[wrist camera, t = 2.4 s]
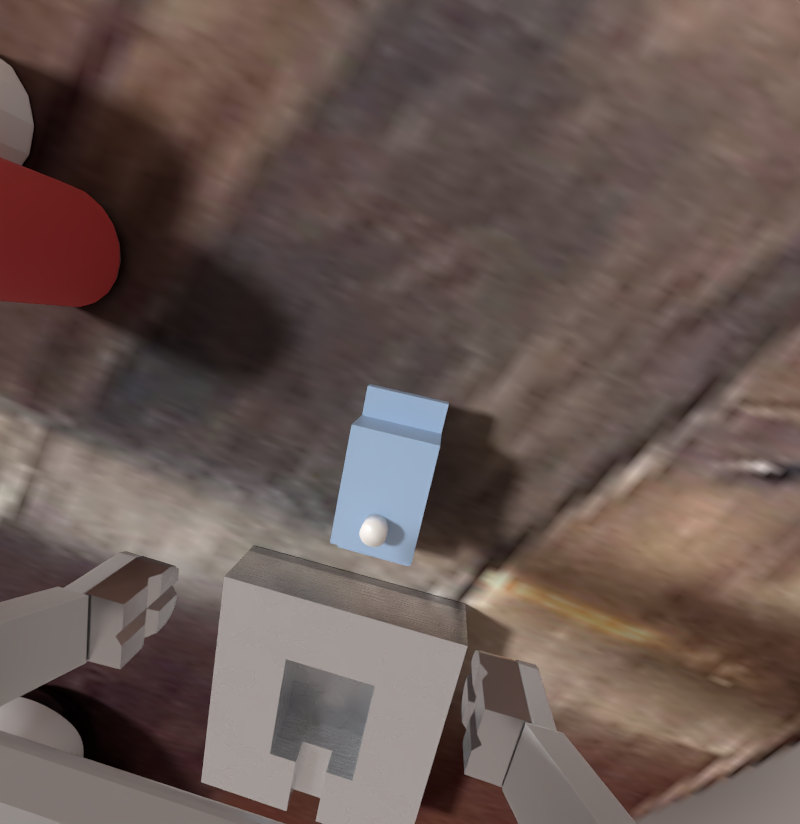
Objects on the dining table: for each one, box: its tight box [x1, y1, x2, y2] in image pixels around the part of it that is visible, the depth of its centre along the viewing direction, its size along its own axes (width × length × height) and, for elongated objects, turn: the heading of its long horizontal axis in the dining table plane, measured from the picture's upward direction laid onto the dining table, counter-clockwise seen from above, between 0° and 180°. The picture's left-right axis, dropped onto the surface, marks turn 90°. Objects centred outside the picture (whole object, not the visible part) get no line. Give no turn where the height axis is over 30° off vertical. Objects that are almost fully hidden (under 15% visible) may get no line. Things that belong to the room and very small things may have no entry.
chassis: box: [201, 546, 468, 824], centre depth 24 cm, size 14×16×3 cm
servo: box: [330, 384, 449, 566], centre depth 19 cm, size 4×9×6 cm, turn 168°
